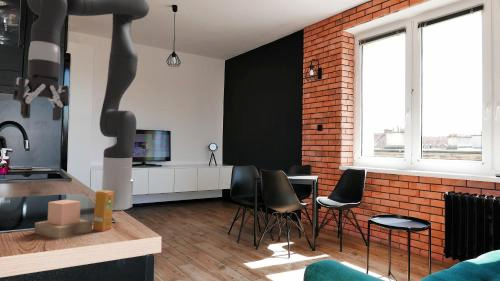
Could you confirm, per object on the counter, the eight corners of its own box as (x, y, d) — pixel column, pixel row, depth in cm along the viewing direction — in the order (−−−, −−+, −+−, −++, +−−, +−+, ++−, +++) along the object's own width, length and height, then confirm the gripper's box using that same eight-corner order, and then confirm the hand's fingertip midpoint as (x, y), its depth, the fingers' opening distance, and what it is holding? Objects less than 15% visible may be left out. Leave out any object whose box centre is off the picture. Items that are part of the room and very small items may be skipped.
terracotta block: (65, 219, 90) (66, 199, 90) (79, 221, 88) (80, 201, 88) (47, 222, 85) (48, 202, 85) (61, 225, 83) (62, 204, 83)
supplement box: (103, 231, 89) (105, 192, 89) (92, 230, 90) (94, 191, 90) (112, 228, 92) (114, 190, 92) (101, 227, 93) (103, 189, 93)
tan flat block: (68, 227, 93) (68, 216, 93) (91, 233, 89) (92, 221, 89) (34, 235, 85) (34, 222, 85) (58, 241, 81) (59, 228, 81)
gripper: (59, 67, 105) (56, 121, 105) (9, 55, 92) (6, 117, 92) (76, 65, 102) (73, 121, 102) (26, 53, 89) (23, 117, 89)
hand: (41, 119), depth 97 cm, fingers open, 8 cm apart
